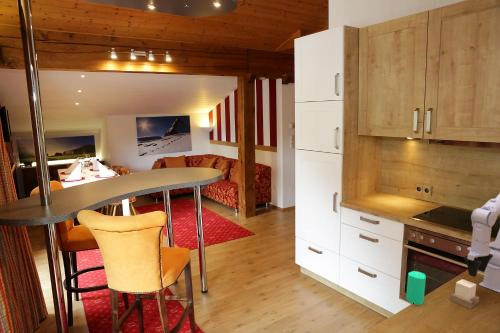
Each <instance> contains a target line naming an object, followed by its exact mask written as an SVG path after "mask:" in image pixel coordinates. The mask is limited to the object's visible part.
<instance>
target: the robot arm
mask: <svg viewBox="0 0 500 333" xmlns="http://www.w3.org/2000/svg"><path fill="white" fill-rule="evenodd" d="M499 215H500V192H499V194H497V196H495V198H490V199H489V200H487V202H486V203H484V205H482V206H481V207H477V208H475V209H473V211H472V213H471V215H470V220H471V226H472V235H471V244H470V245H471V246H469V247H467V251H469V253H468V254H467V255H465V256H464V258H463V259H464V262H465V263H466V264H465V265H466V266H467V272H468V276H471V277H473V278H475V277H476V276H477V273H478V271H480V272H481V273H484V274H483V281H481V282H480V283H478V285H479V286H481V287H483V288H486V289H489V290H492V291H495V292H497V293H500V228H499V230H498V232H497V236H496V237H495V240H494V241H491V236H492V235H491V233H492V227H493V226H494V225H495V223H496V221H497V219H498V216H499Z"/></svg>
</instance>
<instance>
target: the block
mask: <svg viewBox="0 0 500 333" xmlns="http://www.w3.org/2000/svg"><path fill="white" fill-rule="evenodd" d="M476 291H477V284H476V283H474V282H472V281H468V280H466V279H463V278H461V279H460V280H458V281H456V282H455V290H454V292H455V295H457V296H459V297H461V298H464V299H466V300H471V299H472V298H474V297H475V296H476Z"/></svg>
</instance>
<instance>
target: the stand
mask: <svg viewBox="0 0 500 333" xmlns="http://www.w3.org/2000/svg"><path fill="white" fill-rule="evenodd" d="M449 301H450V302H453V303H456V304H457V305H460V306H462V307H464V308H467V309H469V310H470V309H472V308H474V307H475V306H478V304H479V303H480V297H479V296H477V295H475V297H474V298H472V299H471V300H466V299H464V298H461V297H459V296H457V295H455V291H454V292H453V293H451V294H450V299H449Z"/></svg>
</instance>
